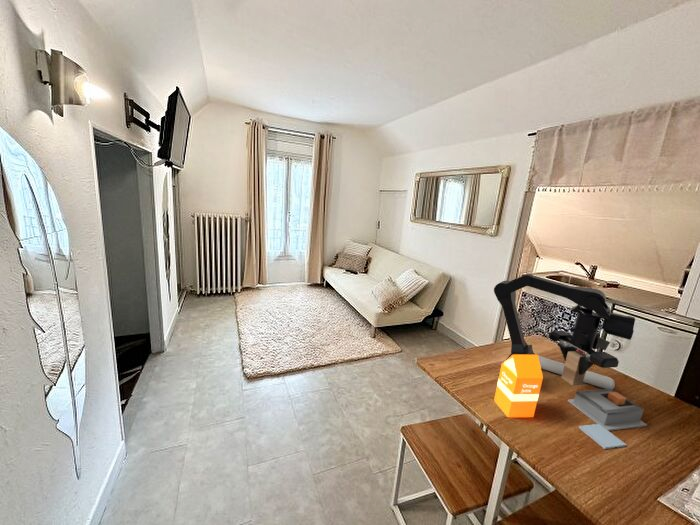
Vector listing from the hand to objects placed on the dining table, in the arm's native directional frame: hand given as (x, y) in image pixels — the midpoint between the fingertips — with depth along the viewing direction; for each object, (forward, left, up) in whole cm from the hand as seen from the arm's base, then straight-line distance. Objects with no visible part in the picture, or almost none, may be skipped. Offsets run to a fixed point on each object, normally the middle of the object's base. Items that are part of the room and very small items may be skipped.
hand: (574, 370), depth 92 cm
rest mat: (-2, -13, -13) cm, 19 cm away
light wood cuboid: (0, 0, -4) cm, 4 cm away
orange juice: (-21, 0, -13) cm, 25 cm away
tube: (+18, +13, -14) cm, 26 cm away
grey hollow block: (+10, -5, -13) cm, 17 cm away
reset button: (+13, -5, -10) cm, 17 cm away
